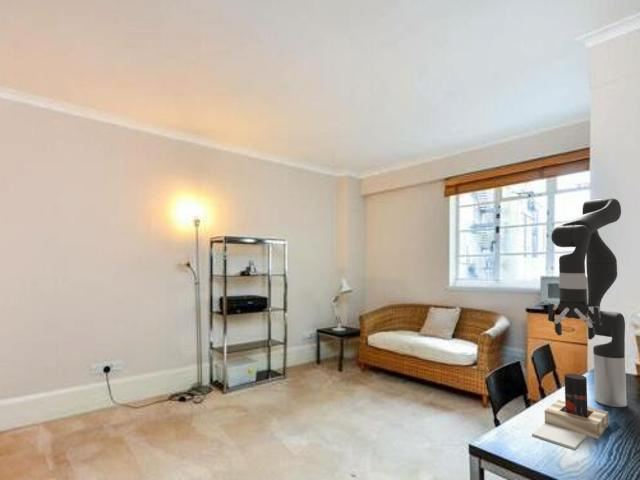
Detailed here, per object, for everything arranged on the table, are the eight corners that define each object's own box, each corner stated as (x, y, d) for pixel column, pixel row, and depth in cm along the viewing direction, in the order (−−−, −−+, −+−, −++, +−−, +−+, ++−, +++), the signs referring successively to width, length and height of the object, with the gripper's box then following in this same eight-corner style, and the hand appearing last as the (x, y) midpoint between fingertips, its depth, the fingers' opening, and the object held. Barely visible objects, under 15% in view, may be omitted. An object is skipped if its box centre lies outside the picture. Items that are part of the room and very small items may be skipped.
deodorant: (591, 428, 117) (590, 379, 118) (570, 427, 118) (569, 378, 119) (582, 420, 123) (581, 374, 124) (562, 419, 124) (561, 373, 125)
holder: (559, 411, 130) (558, 399, 131) (609, 424, 120) (608, 411, 120) (544, 422, 121) (544, 410, 121) (597, 438, 111) (597, 424, 111)
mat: (545, 424, 120) (544, 422, 120) (586, 437, 112) (586, 435, 112) (532, 435, 112) (532, 433, 112) (575, 449, 104) (575, 447, 104)
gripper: (602, 287, 119) (604, 338, 119) (551, 284, 130) (553, 332, 129) (596, 289, 114) (598, 342, 114) (544, 286, 125) (546, 335, 124)
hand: (574, 337), depth 122 cm, fingers open, 8 cm apart
